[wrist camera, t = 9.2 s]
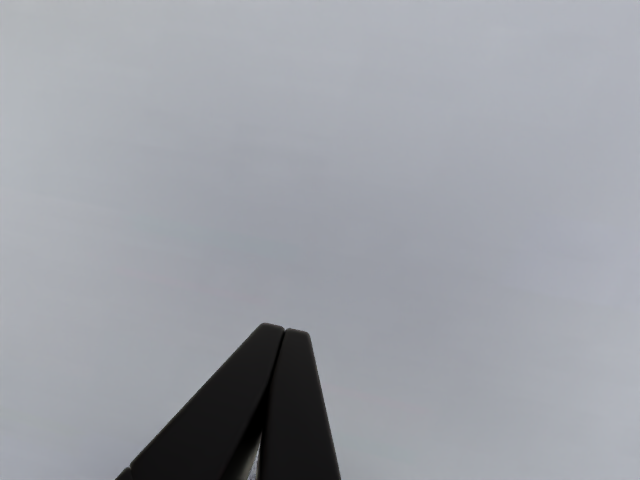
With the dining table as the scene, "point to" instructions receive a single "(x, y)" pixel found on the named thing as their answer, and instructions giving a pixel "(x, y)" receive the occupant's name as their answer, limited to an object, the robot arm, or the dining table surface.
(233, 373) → the robot arm
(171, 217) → the dining table surface
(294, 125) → the dining table surface
